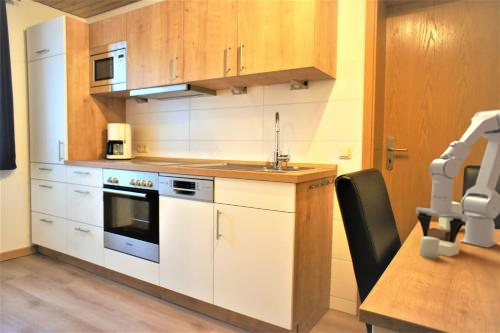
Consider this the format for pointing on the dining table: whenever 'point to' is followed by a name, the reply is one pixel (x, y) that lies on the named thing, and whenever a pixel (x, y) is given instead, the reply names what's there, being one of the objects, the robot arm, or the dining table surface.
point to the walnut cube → (439, 234)
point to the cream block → (448, 248)
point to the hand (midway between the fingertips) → (438, 239)
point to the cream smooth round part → (429, 247)
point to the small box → (446, 221)
